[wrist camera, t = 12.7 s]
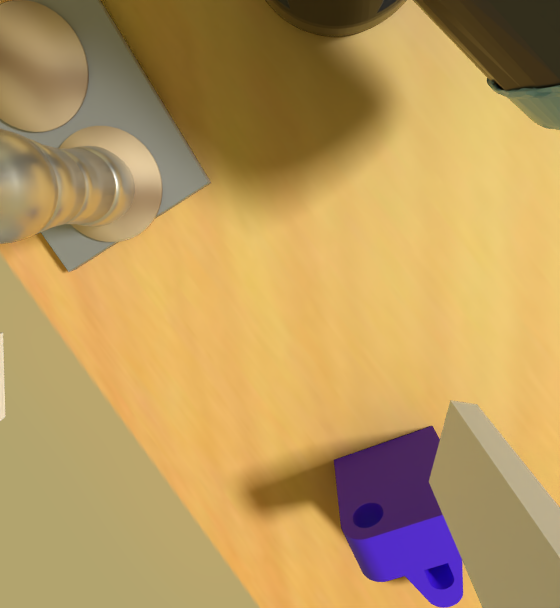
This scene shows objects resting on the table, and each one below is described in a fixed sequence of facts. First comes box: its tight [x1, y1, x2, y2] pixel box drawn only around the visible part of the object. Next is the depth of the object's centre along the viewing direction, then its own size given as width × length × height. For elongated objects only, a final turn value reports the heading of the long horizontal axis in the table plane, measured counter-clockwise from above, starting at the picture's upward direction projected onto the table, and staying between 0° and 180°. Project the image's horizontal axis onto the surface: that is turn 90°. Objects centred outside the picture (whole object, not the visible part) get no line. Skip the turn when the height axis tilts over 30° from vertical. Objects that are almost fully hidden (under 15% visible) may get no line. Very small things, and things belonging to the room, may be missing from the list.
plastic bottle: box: [0, 129, 135, 243], centre depth 30 cm, size 6×7×20 cm
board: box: [0, 0, 211, 272], centre depth 39 cm, size 20×16×1 cm
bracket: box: [334, 426, 463, 607], centre depth 43 cm, size 18×11×12 cm, turn 24°
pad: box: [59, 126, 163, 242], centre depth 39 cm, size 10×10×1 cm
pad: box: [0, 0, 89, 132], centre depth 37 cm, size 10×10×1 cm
